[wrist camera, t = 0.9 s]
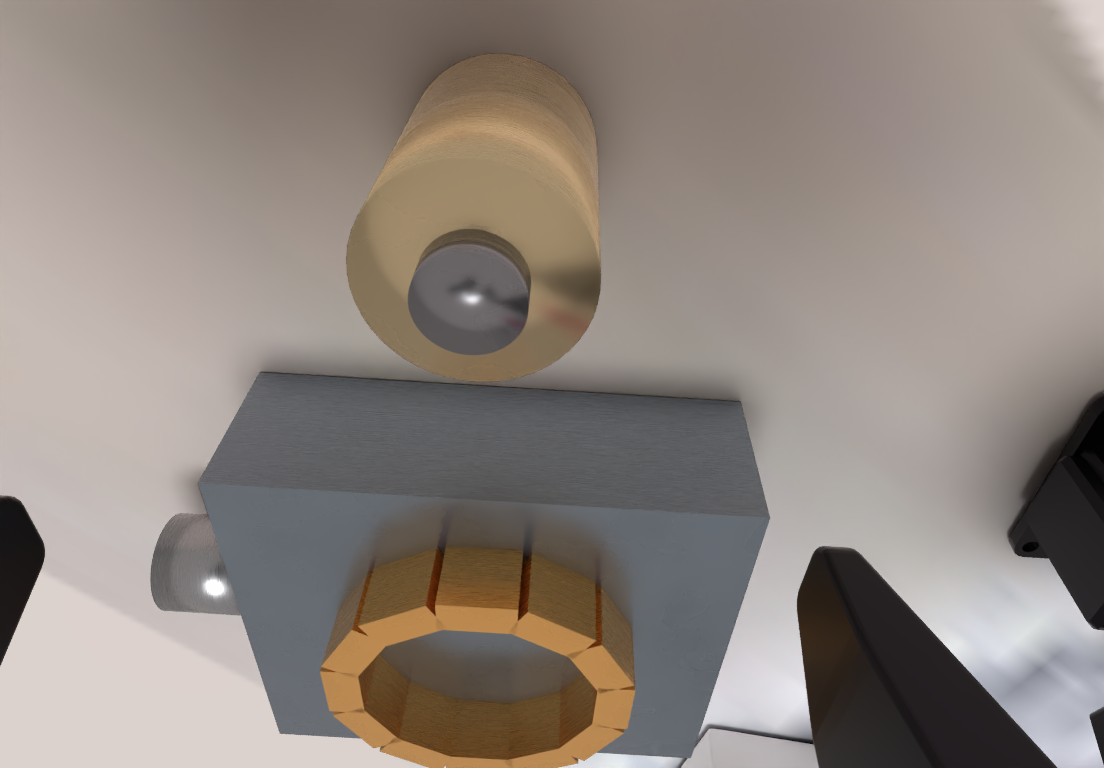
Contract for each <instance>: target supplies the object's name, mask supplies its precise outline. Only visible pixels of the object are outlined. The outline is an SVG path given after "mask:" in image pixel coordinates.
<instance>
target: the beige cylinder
mask: <svg viewBox="0 0 1104 768" xmlns="http://www.w3.org/2000/svg"><path fill="white" fill-rule="evenodd" d="M346 264H347V276H348V281H349V286H350V290H351V292H352V295H353V298H354V301H355V303H356V305H357V307H358V309H359V311H360V313H361V315H362V316H363V318H364V319H365V321H366V322H367V324H368V325H369V327H370V328H371V329H372V330H373V331H374V333H375V334H376V335H377V336H378V337H379V338H380V339H381V340H382V341H383V342H384V343H385V344H386V345H387V346H388V347H389V348H391V349H392V350H393V351H394V352H396V353H397V354H399V355H400V356H401V357H403V358H404V359H406V360H408V361H409V362H411V363H413V364H415V365H416V366H418V367H421V368H423V369H425V370H427V371H430V372H432V373H435V374H438V375H442V376H445V377H449V378H453V379H458V380H465V381H474V382H494V381H504V380H509V379H514V378H519V377H522V376H525V375H528V374H531V373H534V372H536V371H538V370H541V369H543V368H545V367H547V366H549V365H550V364H552V363H553V362H555V361H557V360H558V359H560V358H561V357H562V356H563V355H564V354H566V353H567V352H568V351H569V350H570V349H571V348H572V347H573V346H574V345H575V344H576V343H577V342H578V341H579V340H580V338H581V337H582V335H583V334H584V333H585V331H586V330H587V328H588V326H589V324H590V322H591V320H592V318H593V316H594V313H595V310H596V307H597V304H598V300H599V294H600V284H601V266H600V232H599V198H598V164H597V142H596V133H595V129H594V125H593V121H592V119H591V116H590V114H589V111H588V109H587V107H586V106H585V104H584V102H583V100H582V99H581V97H580V96H579V95H578V93H577V92H576V91H575V89H574V88H573V87H572V86H571V85H570V84H569V83H568V82H567V81H566V80H565V79H564V78H563V77H562V76H560V75H559V74H558V73H556V72H555V71H554V70H552V69H550V68H549V67H547V66H545V65H544V64H542V63H539V62H537V61H535V60H532V59H529V58H526V57H522V56H518V55H512V54H485V55H479V56H475V57H472V58H468V59H465V60H463V61H461V62H459V63H457V64H454V65H453V66H451V67H450V68H448V69H447V70H445V71H444V72H443V73H441V74H440V75H439V76H438V77H437V78H436V79H435V80H434V81H433V82H432V83H431V84H430V85H429V87H428V88H427V89H426V90H425V92H424V94H423V95H422V97H421V98H420V100H419V102H418V104H417V106H416V108H415V109H414V111H413V113H412V115H411V117H410V119H409V121H408V122H407V124H406V126H405V128H404V130H403V132H402V134H401V136H400V137H399V139H398V141H397V143H396V145H395V147H394V149H393V151H392V152H391V154H390V156H389V158H388V160H387V162H386V164H385V165H384V167H383V169H382V171H381V173H380V175H379V177H378V179H377V180H376V182H375V184H374V186H373V188H372V190H371V192H370V193H369V195H368V197H367V199H366V201H365V203H364V205H363V207H362V208H361V210H360V212H359V214H358V216H357V218H356V220H355V223H354V225H353V227H352V230H351V233H350V237H349V241H348V246H347V256H346Z"/></svg>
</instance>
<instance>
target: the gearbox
mask: <svg viewBox="0 0 1104 768" xmlns="http://www.w3.org/2000/svg"><path fill="white" fill-rule="evenodd" d="M198 485H199V488H200V491H201V494H202V497H203V500H204V503H205V507H206V510H207V513H208V515H203V514H187V513H180V514H177V515H175V516H174V517H172V518H171V519H170V520H169V521H168V523H167V524H166V525H165V527H164V529H163V530H162V532H161V534H160V537H159V539H158V541H157V544H156V547H155V551H154V555H153V559H152V565H151V591H152V596H153V599H154V602H155V603H156V605H157V606H158V608H160V609H161V610H163V611H177V612H193V613H210V614H226V615H241V616H242V619H243V622H244V625H245V629H246V632H247V635H248V638H249V641H250V644H251V647H252V650H253V653H254V656H255V659H256V662H257V665H258V668H259V671H260V674H261V677H262V680H263V683H264V686H265V690H266V692H267V696H268V699H269V701H270V705H271V708H272V711H273V714H274V717H275V720H276V723H277V726H278V729H279V732H280V733H281V734H296V735H313V736H329V737H346V738H361V739H363V740H364V741H365V742H367V743H368V744H369V745H370V746H372V747H373V748H376V747H381V748H380V752H383V753H386V754H389V755H392V756H395V757H399V758H402V759H405V760H408V761H411V762H414V763H417V764H420V765H423V766H426V767H429V768H443V767H444V766H446V768H558V767H563V766H568V765H572V764H577V763H578V759H581V760H583V761H585V760H586V759H588V758H589V757H590V756H592V755H593V754H595V753H613V754H629V755H646V756H663V757H679V758H691V756H692V753H693V750H694V747H695V744H696V741H697V738H698V735H699V732H700V729H701V726H702V723H703V720H704V717H705V714H706V711H707V708H708V705H709V702H710V699H711V696H712V693H713V689H714V686H715V683H716V680H717V677H718V674H719V671H720V668H721V665H722V662H723V659H724V656H725V653H726V650H727V647H728V644H729V641H730V638H731V635H732V632H733V629H734V626H735V623H736V620H737V617H738V614H739V610H740V607H741V604H742V601H743V598H744V595H745V592H746V589H747V586H748V583H749V580H750V577H751V574H752V571H753V568H754V565H755V562H756V559H757V556H758V553H759V550H760V547H761V544H762V541H763V538H764V535H765V532H766V528H767V525H768V522H769V519H770V516H769V512H768V508H767V504H766V500H765V496H764V492H763V488H762V484H761V480H760V476H759V472H758V468H757V464H756V460H755V456H754V453H753V449H752V445H751V441H750V437H749V433H748V429H747V425H746V421H745V417H744V413H743V409H742V405H741V402H735V401H718V400H702V399H686V398H669V397H653V396H637V395H621V394H604V393H588V392H572V391H556V390H539V389H523V388H507V387H490V386H474V385H458V384H442V383H425V382H409V381H393V380H376V379H360V378H344V377H328V376H311V375H295V374H279V373H262V372H260V373H259V375H258V376H257V378H256V380H255V382H254V384H253V385H252V387H251V389H250V391H249V392H248V394H247V396H246V398H245V400H244V401H243V403H242V405H241V407H240V409H239V410H238V412H237V414H236V416H235V417H234V419H233V421H232V423H231V425H230V426H229V428H228V430H227V432H226V434H225V435H224V437H223V439H222V441H221V442H220V444H219V446H218V448H217V450H216V451H215V453H214V455H213V457H212V458H211V460H210V462H209V464H208V466H207V467H206V469H205V471H204V473H203V475H202V476H201V478H200V480H199V482H198Z"/></svg>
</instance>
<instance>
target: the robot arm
mask: <svg viewBox="0 0 1104 768" xmlns="http://www.w3.org/2000/svg"><path fill="white" fill-rule="evenodd" d="M1009 543H1010V545H1011V547H1012V549H1013V551H1014V552H1015V554H1017V555H1018V556H1022V557H1033V558H1049V559H1050V561H1051V563H1052V564H1053V566H1054V568H1055V569H1056V571H1057V573H1058V574H1059V576H1060V578H1061V579H1062V581H1063V583H1064V584H1065V586H1066V588H1067V589H1068V591H1069V593H1070V594H1071V596H1072V598H1073V599H1074V601H1075V603H1076V604H1077V606H1078V608H1079V609H1080V611H1081V613H1082V614H1083V616H1084V618H1085V619H1086V621H1087V622H1088V623H1089V624H1090V626H1091V627H1092V628H1093V629H1097V630H1104V397H1102V398H1100V399H1099V400H1097V401H1096V402H1094V404H1093V405H1092V406H1091V407H1090V409H1089V410H1088V412H1087V413H1086V415H1085V417H1084V418H1083V420H1082V421H1081V423H1080V425H1079V426H1078V428H1077V429H1076V431H1075V433H1074V434H1073V436H1072V437H1071V439H1070V441H1069V442H1068V444H1067V445H1066V447H1065V449H1064V450H1063V452H1062V453H1061V455H1060V457H1059V458H1058V460H1057V461H1056V463H1055V465H1054V466H1053V468H1052V469H1051V471H1050V473H1049V474H1048V476H1047V478H1046V479H1045V481H1044V482H1043V484H1042V486H1041V487H1040V489H1039V490H1038V492H1037V494H1036V495H1035V497H1034V498H1033V500H1032V502H1031V503H1030V505H1029V506H1028V508H1027V510H1026V511H1025V513H1024V514H1023V516H1022V518H1021V519H1020V521H1019V522H1018V524H1017V526H1016V527H1015V529H1014V530H1013V532H1012V534H1011V535H1010V537H1009ZM44 557H45V547H44V543H43V540H42V538H41V537H40V535H39V533H38V531H37V529H36V527H35V526H34V524H33V522H32V520H31V518H30V516H29V514H28V513H27V511H26V509H25V507H24V505H23V504H22V502H21V501H20V500H18V499H17V498H15V497H12V496H1V495H0V665H1V663H2V661H3V658H4V656H5V654H6V651H7V649H8V646H9V644H10V642H11V639H12V637H13V635H14V632H15V630H16V627H17V625H18V622H19V620H20V618H21V615H22V613H23V611H24V608H25V606H26V603H27V601H28V599H29V597H30V594H31V592H32V589H33V587H34V585H35V582H36V580H37V578H38V575H39V573H40V570H41V568H42V565H43V562H44ZM797 613H798V622H799V630H800V638H801V647H802V655H803V664H804V672H805V680H806V689H807V697H808V705H809V714H810V722H811V729H812V736H813V742H814V747H815V752H816V757H817V762H818V766H819V768H1057V767H1056V766H1055V764H1054V763H1053V762H1052V761H1051V760H1050V759H1049V758H1048V757H1047V756H1046V755H1045V754H1044V753H1043V751H1042V750H1041V749H1040V748H1039V747H1038V746H1037V745H1036V744H1035V743H1034V742H1033V741H1032V740H1031V738H1030V737H1029V736H1028V735H1027V734H1026V733H1025V732H1024V731H1023V730H1022V729H1021V728H1020V726H1019V725H1018V724H1017V723H1016V722H1015V721H1014V720H1013V719H1012V718H1011V717H1010V716H1009V715H1008V713H1007V712H1006V711H1005V710H1004V709H1003V708H1002V707H1001V706H1000V705H999V704H998V703H997V702H996V700H995V699H994V698H993V697H992V696H991V695H990V694H989V693H988V692H987V691H986V690H985V688H984V687H983V686H982V685H981V684H980V683H979V682H978V681H977V680H976V679H975V678H974V677H973V675H972V674H971V673H970V672H969V671H968V670H967V669H966V668H965V667H964V666H963V665H962V664H961V662H960V661H959V660H958V659H957V658H956V657H955V656H954V655H953V654H952V653H951V652H950V651H949V649H948V648H947V647H946V646H945V645H944V644H943V643H942V642H941V641H940V640H939V639H938V637H937V636H936V635H935V634H934V633H933V632H932V631H931V630H930V629H929V628H928V627H927V626H926V624H925V623H924V622H923V621H922V620H921V619H920V618H919V617H918V616H917V615H916V614H915V613H914V611H913V610H912V609H911V608H910V607H909V606H908V605H907V604H906V603H905V602H904V601H903V600H902V598H901V597H900V596H899V595H898V594H897V593H896V592H895V591H894V590H893V589H892V588H891V586H890V585H889V584H888V583H887V582H886V581H885V580H884V579H883V578H882V577H881V576H880V575H879V573H878V572H877V571H876V570H875V569H874V568H873V567H872V566H871V565H870V564H869V563H868V562H867V560H866V559H865V558H864V557H863V556H862V555H861V554H860V553H859V552H857V551H856V550H854V549H852V548H845V547H829V546H822V547H819V548H817V549H816V550H815V551H814V553H813V555H812V558H811V560H810V563H809V565H808V568H807V571H806V573H805V576H804V578H803V581H802V583H801V586H800V589H799V592H798V597H797ZM1090 720H1091V723H1092V727H1093V730H1094V733H1095V737H1096V740H1097V743H1098V747H1099V750H1100V753H1101V757H1102V760H1103V764H1104V707H1102V708H1100V709H1098V710H1097V711H1095V712H1093V713H1091V714H1090Z"/></svg>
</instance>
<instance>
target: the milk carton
mask: <svg viewBox="0 0 1104 768" xmlns="http://www.w3.org/2000/svg"><path fill="white" fill-rule="evenodd" d="M681 768H819V766H818V762H817V757H816V752H815V747H814V745H813V744H807V743H801V742H795V741H788V740H782V739H776V738H770V737H764V736H757V735H751V734H745V733H739V732H732V731H726V730H719V729H709V730H708V731H707V732H706V733H705V735H704V736H703V738H702V739H701V740H700V742H699V743H698V744H697V746H696V747H695V749H694V750H693V753H692V756H691V758H687V760H686V761H685V762H684V764H683V765H682V767H681Z"/></svg>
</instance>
